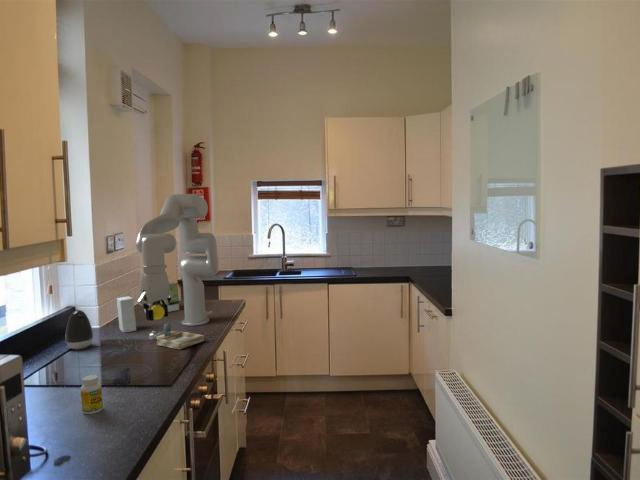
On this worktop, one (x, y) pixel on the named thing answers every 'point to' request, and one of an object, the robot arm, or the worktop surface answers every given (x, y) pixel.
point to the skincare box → (126, 314)
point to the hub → (154, 334)
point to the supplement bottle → (91, 395)
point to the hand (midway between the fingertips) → (157, 317)
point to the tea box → (174, 300)
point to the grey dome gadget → (78, 331)
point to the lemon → (157, 312)
